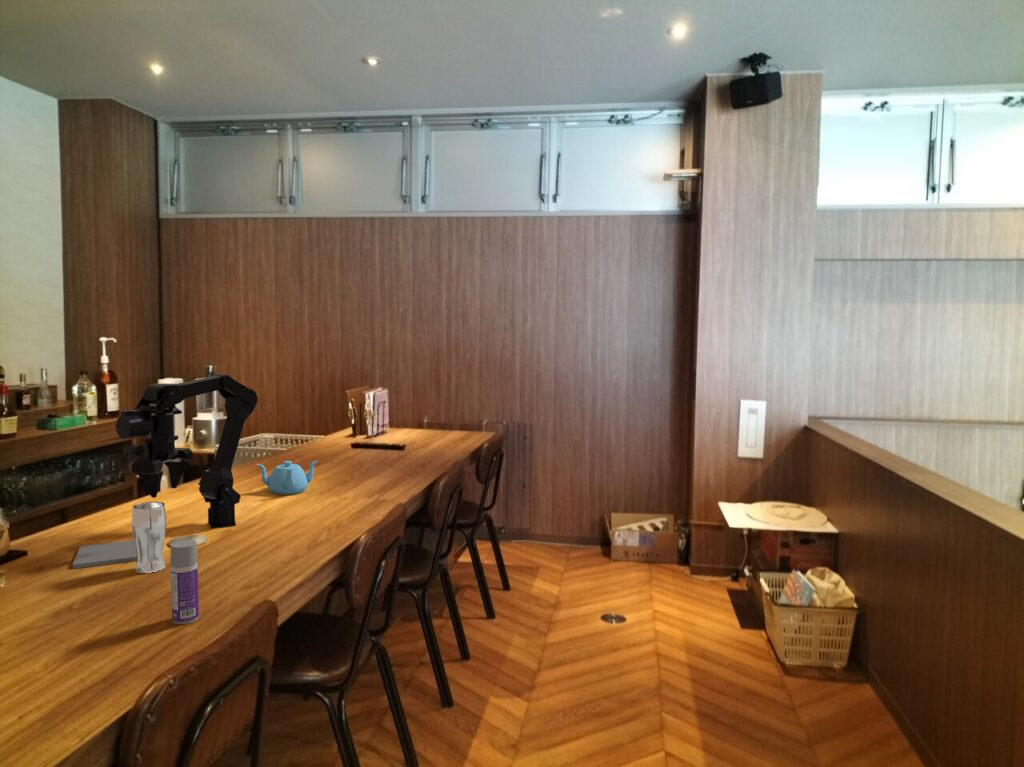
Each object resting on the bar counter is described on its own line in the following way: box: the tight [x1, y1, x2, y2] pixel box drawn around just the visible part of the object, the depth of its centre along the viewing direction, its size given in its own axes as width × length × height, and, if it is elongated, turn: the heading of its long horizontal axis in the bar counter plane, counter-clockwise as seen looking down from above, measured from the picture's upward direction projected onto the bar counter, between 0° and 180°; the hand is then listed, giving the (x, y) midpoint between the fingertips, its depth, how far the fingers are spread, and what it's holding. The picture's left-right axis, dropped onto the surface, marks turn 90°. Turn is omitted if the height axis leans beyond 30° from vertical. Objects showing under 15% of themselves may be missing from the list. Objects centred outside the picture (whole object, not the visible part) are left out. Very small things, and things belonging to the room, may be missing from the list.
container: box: [170, 540, 200, 625], centre depth 128 cm, size 5×5×15 cm
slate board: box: [72, 539, 137, 570], centre depth 163 cm, size 14×14×1 cm
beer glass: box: [131, 501, 167, 574], centre depth 154 cm, size 7×7×15 cm
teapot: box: [256, 460, 319, 496], centre depth 226 cm, size 15×15×10 cm
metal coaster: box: [168, 534, 208, 547], centre depth 173 cm, size 9×9×1 cm
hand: (164, 492), depth 172 cm, fingers open, 9 cm apart
